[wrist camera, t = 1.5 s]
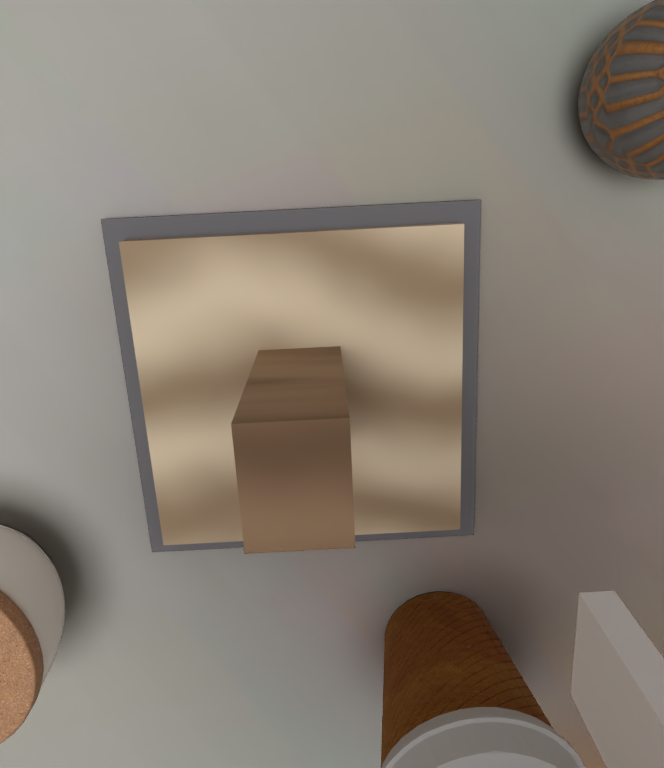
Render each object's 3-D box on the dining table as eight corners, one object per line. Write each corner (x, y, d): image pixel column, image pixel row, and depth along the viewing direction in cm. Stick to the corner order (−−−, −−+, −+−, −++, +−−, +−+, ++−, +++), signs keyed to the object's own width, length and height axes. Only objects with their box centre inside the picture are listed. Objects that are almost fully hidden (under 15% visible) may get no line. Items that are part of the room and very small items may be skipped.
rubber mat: (472, 531, 35) (474, 534, 35) (153, 548, 35) (152, 552, 35) (479, 199, 30) (481, 199, 30) (103, 219, 30) (100, 219, 30)
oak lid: (456, 520, 35) (515, 663, 24) (167, 535, 35) (102, 686, 24) (459, 222, 30) (535, 241, 19) (125, 240, 30) (19, 268, 19)
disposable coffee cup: (532, 576, 36) (630, 754, 25) (496, 706, 39) (569, 920, 28) (371, 558, 36) (395, 731, 24) (346, 691, 39) (357, 903, 27)
